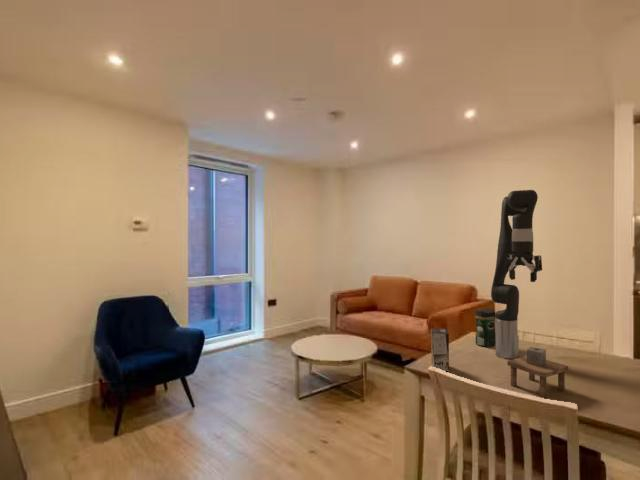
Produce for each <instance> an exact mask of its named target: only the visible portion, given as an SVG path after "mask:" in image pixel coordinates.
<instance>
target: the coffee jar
mask: <svg viewBox="0 0 640 480" xmlns="http://www.w3.org/2000/svg"><path fill="white" fill-rule="evenodd" d="M474 312H475V313H474V314H475V315H474V318H475V321H476V324H475V325H476V327H475V329H476V330H475V344H476V345H478V346H480V347H484V348H485V347H486V348H487V347H493V346H495V313H496V311H495V309H494V308H490V307H486V308H479V309H476V310H475V311H474Z"/></svg>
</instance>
